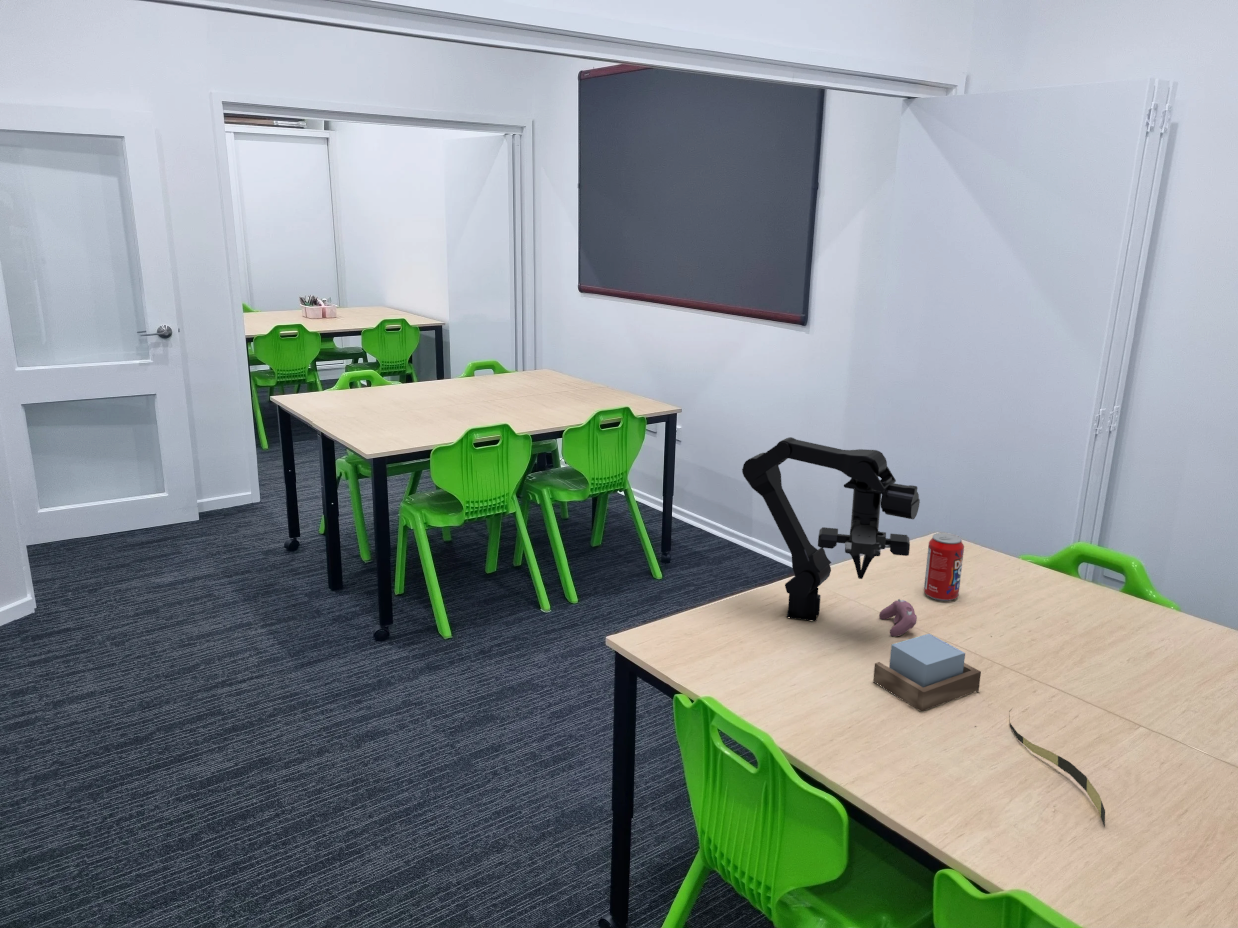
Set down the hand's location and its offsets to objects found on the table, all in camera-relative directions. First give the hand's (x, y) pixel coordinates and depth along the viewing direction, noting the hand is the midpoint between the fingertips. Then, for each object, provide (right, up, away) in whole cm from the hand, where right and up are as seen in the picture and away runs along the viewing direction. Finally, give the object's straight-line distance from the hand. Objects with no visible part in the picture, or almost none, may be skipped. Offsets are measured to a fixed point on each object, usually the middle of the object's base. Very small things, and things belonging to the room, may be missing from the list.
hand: (860, 578), depth 191 cm
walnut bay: (+7, -18, -20) cm, 28 cm away
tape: (+22, -25, -41) cm, 52 cm away
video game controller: (+9, -12, +4) cm, 15 cm away
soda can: (+24, -7, +20) cm, 32 cm away
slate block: (+7, -18, -20) cm, 28 cm away
